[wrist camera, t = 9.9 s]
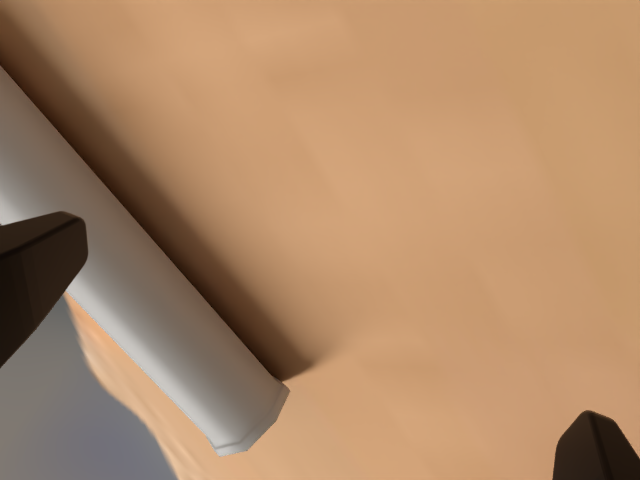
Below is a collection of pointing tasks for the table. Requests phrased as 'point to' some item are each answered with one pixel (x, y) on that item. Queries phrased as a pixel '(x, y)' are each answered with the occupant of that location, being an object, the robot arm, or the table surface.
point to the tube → (136, 285)
